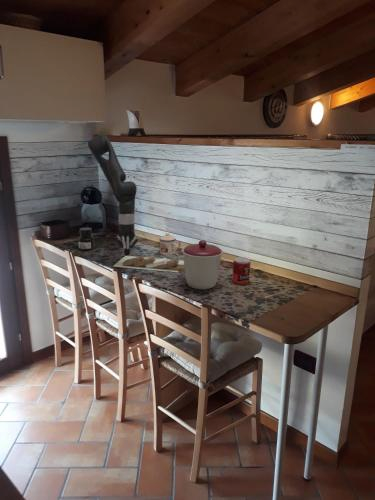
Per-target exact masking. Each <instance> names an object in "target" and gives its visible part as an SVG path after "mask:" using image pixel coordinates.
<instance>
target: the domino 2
mask: <svg viewBox="0 0 375 500" xmlns="http://www.w3.org/2000/svg"><path fill="white" fill-rule="evenodd" d="M147 258H148V259H144V260H143V261H142V262H140V263H136V264H134V266H135V267H138V266H143V265H147V264H152V263H154V262H155V261H156V259H155V258H156V257H155V256H153V257H147Z"/></svg>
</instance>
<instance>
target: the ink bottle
mask: <svg viewBox="0 0 375 500" xmlns="http://www.w3.org/2000/svg"><path fill="white" fill-rule="evenodd" d="M92 229H93V228H92V227H80V228H79V237H78V239H77V240H78V249H79V250H81V251H83V252H84V251H85V252H86V251H91V250H92V251H93V250H94V249H95V237H94V236H93V230H92Z"/></svg>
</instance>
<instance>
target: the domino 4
mask: <svg viewBox="0 0 375 500" xmlns="http://www.w3.org/2000/svg"><path fill="white" fill-rule="evenodd" d="M178 260H179V259H178V258H176V259H170V261H167V262H166V264H163V265H159V266H157V268H158V269H162V268H166V267H171V266H176V265H177V264H178V263H179V261H178Z"/></svg>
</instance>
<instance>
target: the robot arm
mask: <svg viewBox="0 0 375 500" xmlns="http://www.w3.org/2000/svg"><path fill="white" fill-rule="evenodd" d="M87 145H88V148H89V150H90V152H91V154H92V156H93V157H94V158H95V161H97V164H98V165H99V167H100V169H101V171H102V173H103V175H104V177H105V178H106V180H107V181H108V183H109V184H108V185H110V187H111V190H112V192H113V194H114V197H115V199H116V201H117V202H118V231H119V233H118V235H116V236H115V237H114V240H115V242H116V243H117V244H118V246H119V247H120V248H123V254H124V255H125V256H131V249H133V248H134V247H135V246H136V244H137V243H138V242H139V241H140V238H139V237H137V236H136V231H135V229H136V227H135V223H136V222H135V209H136V206H135V205H136V195H137V192H138V191H137V190H138V189H137V185H136V183H135V182H134V181H126V180H127V174H126V173H125V171H124V169H123V168H122V166H121V163H120V162H119V159H118V157H117V154H116V151H115V150H114V147H113V145H112V143H111V141H110V139H109V137H108V136H107V135H106V134H105V133H102V134H99V135H96V136H95V137H93V138H92V139H90V140H88V141H87ZM107 153H108V158H105V157H104V156H103V155H105V154H107ZM125 256H124V257H125Z"/></svg>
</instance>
